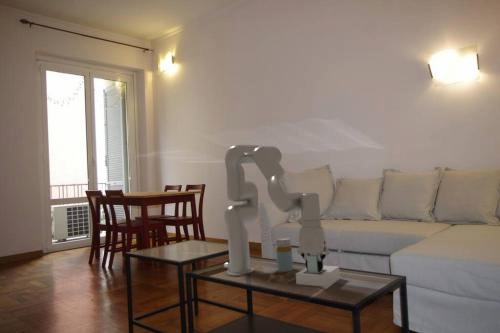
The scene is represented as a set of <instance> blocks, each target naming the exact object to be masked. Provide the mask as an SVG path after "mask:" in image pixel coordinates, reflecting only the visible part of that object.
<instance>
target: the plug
mask: <svg viewBox="0 0 500 333" xmlns="http://www.w3.org/2000/svg"><path fill="white" fill-rule="evenodd" d="M317 261H318V257H317V254H310V255H308V256H307V265H308V273H320V272H322V271H320V272H318V264H317Z"/></svg>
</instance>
